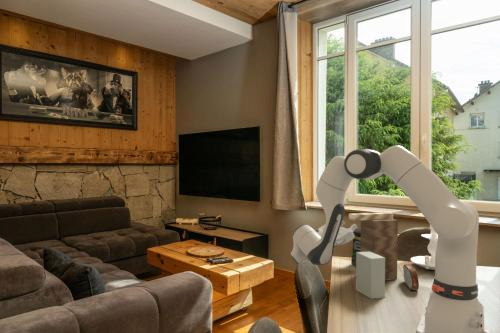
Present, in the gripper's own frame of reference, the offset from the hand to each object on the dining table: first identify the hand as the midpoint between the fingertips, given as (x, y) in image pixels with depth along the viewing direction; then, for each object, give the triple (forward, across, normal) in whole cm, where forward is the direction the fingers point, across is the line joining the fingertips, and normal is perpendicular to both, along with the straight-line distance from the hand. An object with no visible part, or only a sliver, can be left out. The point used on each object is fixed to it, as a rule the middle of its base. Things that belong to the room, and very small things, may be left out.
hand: (349, 223), depth 152 cm
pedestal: (-13, -17, +21) cm, 30 cm away
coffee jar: (+2, +16, +30) cm, 34 cm away
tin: (+4, -14, +31) cm, 35 cm away
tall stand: (0, 0, +29) cm, 29 cm away
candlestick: (+29, +4, +46) cm, 54 cm away
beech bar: (+10, 0, +4) cm, 11 cm away
